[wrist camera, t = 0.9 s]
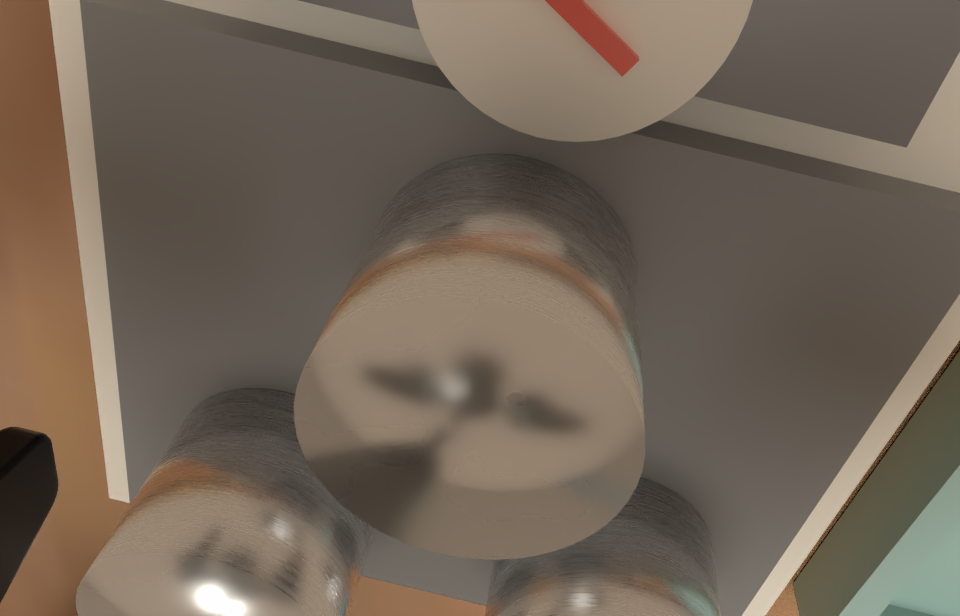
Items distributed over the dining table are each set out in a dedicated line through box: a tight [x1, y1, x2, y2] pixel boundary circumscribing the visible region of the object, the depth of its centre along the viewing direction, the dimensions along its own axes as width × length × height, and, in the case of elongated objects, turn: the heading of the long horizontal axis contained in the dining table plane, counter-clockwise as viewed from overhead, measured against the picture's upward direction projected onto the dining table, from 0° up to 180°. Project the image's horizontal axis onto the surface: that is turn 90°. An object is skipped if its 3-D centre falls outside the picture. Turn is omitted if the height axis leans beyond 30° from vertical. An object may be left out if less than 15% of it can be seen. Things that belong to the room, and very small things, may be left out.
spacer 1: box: [76, 388, 375, 616], centre depth 15 cm, size 4×4×4 cm
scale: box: [49, 0, 960, 616], centre depth 15 cm, size 17×16×4 cm
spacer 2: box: [294, 153, 645, 560], centre depth 12 cm, size 4×4×4 cm
